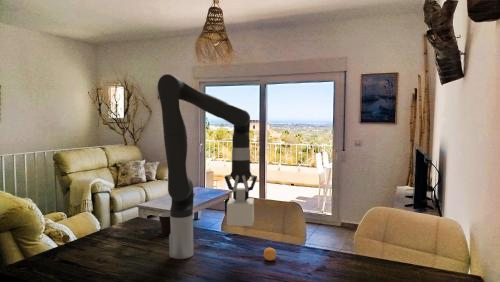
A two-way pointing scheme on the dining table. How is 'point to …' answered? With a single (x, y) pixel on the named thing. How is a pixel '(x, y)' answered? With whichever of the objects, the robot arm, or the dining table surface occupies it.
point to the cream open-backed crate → (240, 210)
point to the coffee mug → (165, 223)
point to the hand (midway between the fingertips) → (241, 199)
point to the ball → (269, 254)
